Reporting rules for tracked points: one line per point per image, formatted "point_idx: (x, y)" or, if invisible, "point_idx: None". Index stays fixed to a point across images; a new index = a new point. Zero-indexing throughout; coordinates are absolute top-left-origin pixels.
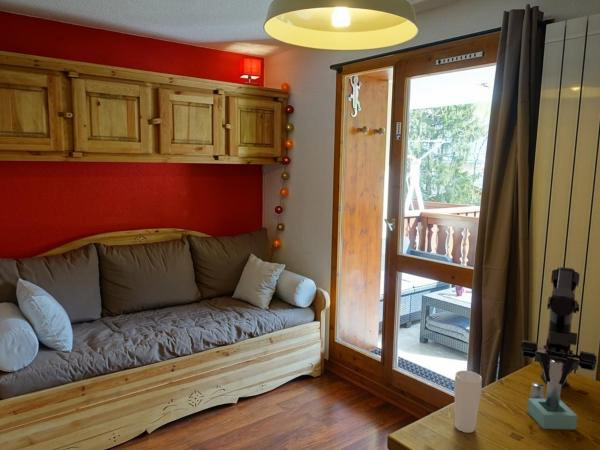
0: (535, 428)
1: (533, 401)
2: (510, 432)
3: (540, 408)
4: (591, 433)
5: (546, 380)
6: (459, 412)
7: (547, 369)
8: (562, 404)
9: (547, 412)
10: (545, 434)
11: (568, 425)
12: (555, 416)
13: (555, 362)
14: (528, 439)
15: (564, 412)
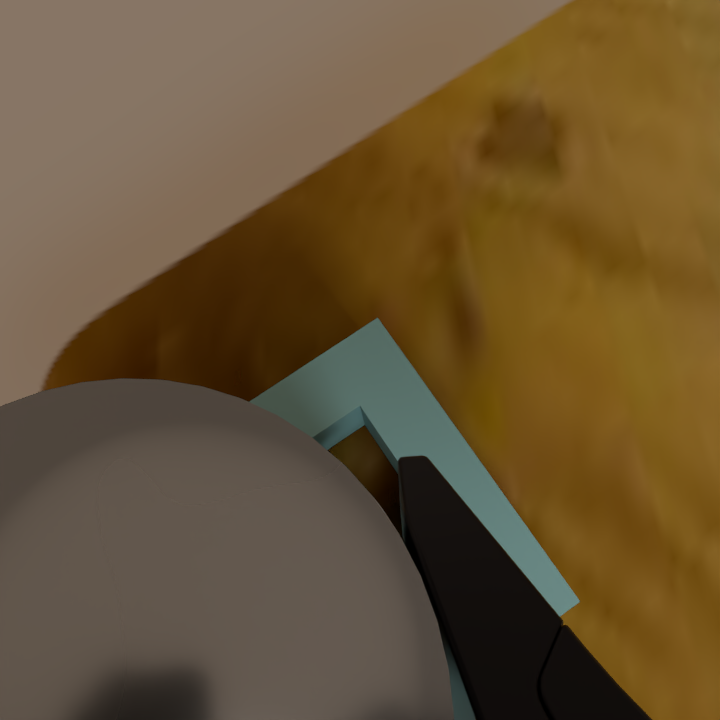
0: (427, 324)
1: (516, 556)
2: (567, 162)
3: (427, 432)
4: None
5: (418, 457)
6: None
7: (453, 614)
8: None
9: (357, 385)
10: (352, 282)
11: None
12: (287, 382)
13: (153, 484)
14: (444, 148)
15: None
